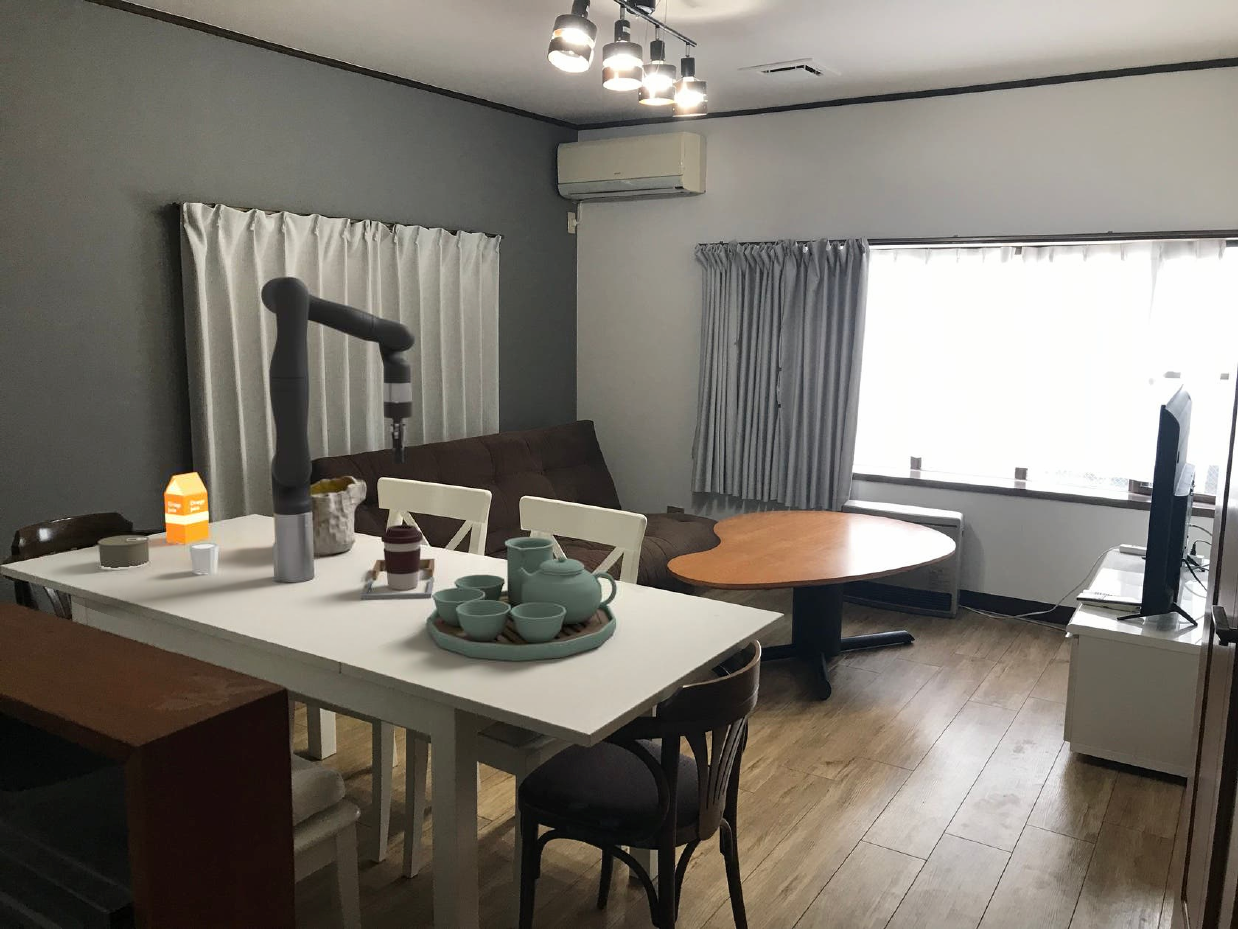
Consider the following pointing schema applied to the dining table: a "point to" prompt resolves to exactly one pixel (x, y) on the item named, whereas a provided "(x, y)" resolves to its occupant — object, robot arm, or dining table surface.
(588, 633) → the tea set
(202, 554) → the shot glass
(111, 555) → the can
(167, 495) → the orange juice
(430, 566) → the cup holder
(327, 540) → the ceramic vessel
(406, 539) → the coffee cup
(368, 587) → the grey bay
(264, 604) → the dining table surface
